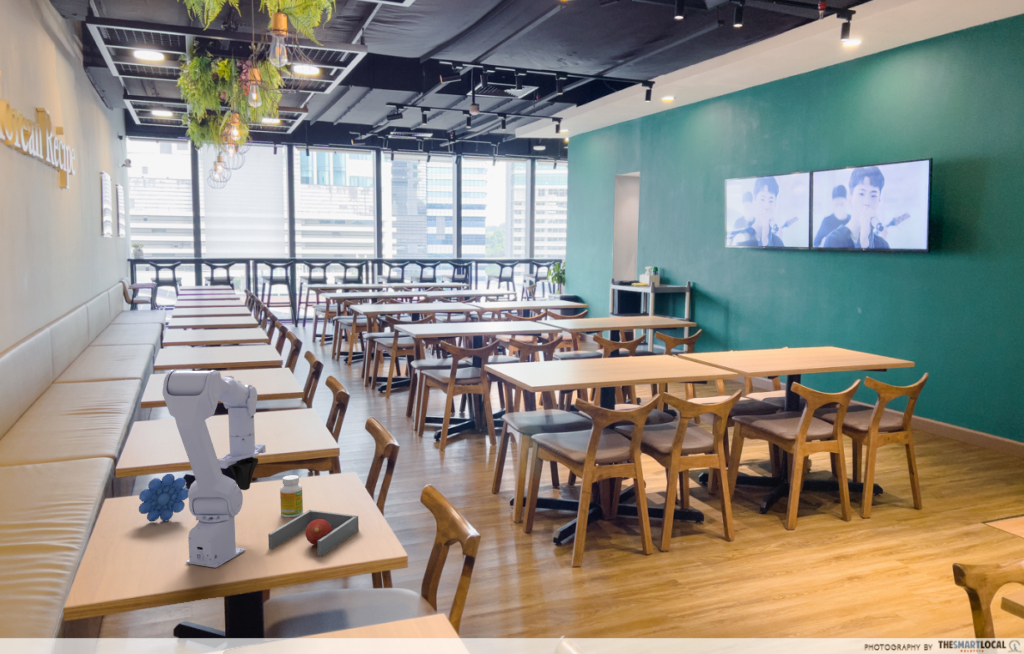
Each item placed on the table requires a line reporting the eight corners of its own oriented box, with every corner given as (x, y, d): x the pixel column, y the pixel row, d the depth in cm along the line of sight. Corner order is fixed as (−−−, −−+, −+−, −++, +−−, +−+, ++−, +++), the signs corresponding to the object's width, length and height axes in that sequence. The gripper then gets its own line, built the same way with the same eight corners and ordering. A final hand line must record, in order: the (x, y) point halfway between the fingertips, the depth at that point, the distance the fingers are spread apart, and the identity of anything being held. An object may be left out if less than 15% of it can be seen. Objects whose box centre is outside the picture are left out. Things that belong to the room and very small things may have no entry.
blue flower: (191, 512, 183) (189, 467, 182) (190, 521, 177) (188, 474, 176) (141, 518, 179) (138, 472, 178) (138, 527, 173) (135, 479, 171)
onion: (310, 548, 157) (314, 551, 164) (334, 535, 158) (337, 538, 166) (299, 525, 158) (303, 529, 165) (323, 512, 160) (326, 516, 167)
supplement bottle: (299, 518, 179) (297, 480, 178) (277, 517, 179) (276, 480, 178) (305, 510, 184) (304, 474, 183) (285, 510, 184) (283, 474, 183)
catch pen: (321, 556, 156) (320, 541, 155) (268, 548, 160) (268, 534, 160) (358, 529, 171) (358, 515, 171) (310, 523, 175) (309, 509, 175)
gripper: (235, 442, 161) (237, 500, 163) (275, 428, 175) (276, 481, 176) (209, 440, 164) (212, 497, 165) (251, 426, 177) (253, 478, 179)
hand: (244, 489), depth 171 cm, fingers closed
